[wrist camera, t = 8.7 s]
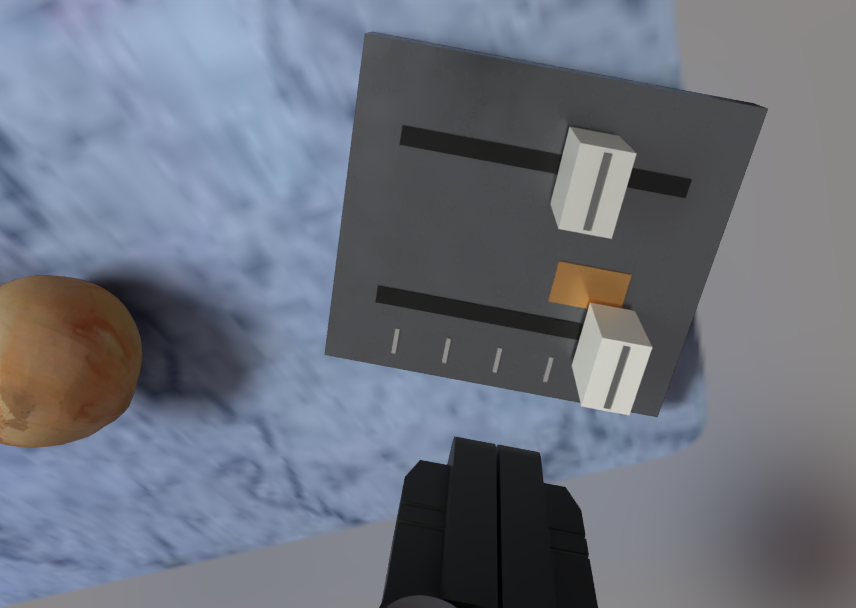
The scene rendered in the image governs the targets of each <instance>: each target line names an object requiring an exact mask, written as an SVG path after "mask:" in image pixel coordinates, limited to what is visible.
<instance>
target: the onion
mask: <svg viewBox="0 0 856 608" xmlns="http://www.w3.org/2000/svg"><path fill="white" fill-rule="evenodd" d="M141 364H142V344H141V338H140V334H139V331H138V328H137V326H136V324H135V322H134V320H133V318H132V316H131V314H130V313H129V311H128V310H127V308H126V307H125V306H124V304H123V303H122V302H121V301H120V300H119V299H118V298H117V297H115V296H114V295H113V294H111V293H110V292H109V291H107V290H106V289H104V288H102V287H100V286H98V285H96V284H93V283H90V282H87V281H84V280H80V279H76V278H70V277H63V276H52V275H36V276H27V277H23V278H19V279H16V280H14V281H11V282H8V283H5V284H2V285H0V443H1V444H5V445H10V446H17V447H29V448H35V447H48V446H55V445H62V444H66V443H69V442H73V441H76V440H79V439H82V438H86V437H88V436H90V435H92V434H94V433H96V432H97V431H99V430H100V429H102V428H103V427H104V426H106V425H108V424H110V423H112V422H113V421H115V420H116V419H117V418H119V417H120V416H121V415H122V414H123V413H124V412H125V411H126V410H127V408H128V407H129V405H130V403H131V400H132V397H133V395H134V392H135V389H136V385H137V381H138V377H139V374H140V369H141Z"/></svg>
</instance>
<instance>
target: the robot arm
mask: <svg viewBox="0 0 856 608" xmlns="http://www.w3.org/2000/svg"><path fill="white" fill-rule="evenodd" d="M588 555H589V553H588V547H587V541H586V539H585V530H584V524H583V518H582V513H581V509H580V508H579V506H578V505H577V504H576V502H575V500H574V499H573V497H572V496H571V495H570V493H569V491H568V490H567V489H566V487H562V486H557V485H552V484H546V483H543V474H542V464H541V456H540V453H539V452H535V451H530V450H525V449H519V448H514V447H509V446H503V445H497V447H496V445H495V444H492V443H486V442H481V441H476V440H470V439H465V438H460V437H454V439H453V442H452V446H451V451H450V455H449V460H448V464H447V465H444V464H439V463H434V462H428V461H423V460H420V461H419V462H418V463H417V464H416V465H415V466H414V467H413V469H412V470H411V471H410V472H409V473H408V474H407V475H406V476H405V479H404V484H403V489H402V495H401V500H400V505H399V510H398V515H397V521H396V526H395V531H394V536H393V541H392V547H391V553H390V558H389V564H388V571H387V575H386V581H385V587H384V593H383V598H382V603H381V605H380V607H379V608H598V605H597V600H596V594H595V588H594V582H593V576H592V570H591V565H590V559H588Z"/></svg>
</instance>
